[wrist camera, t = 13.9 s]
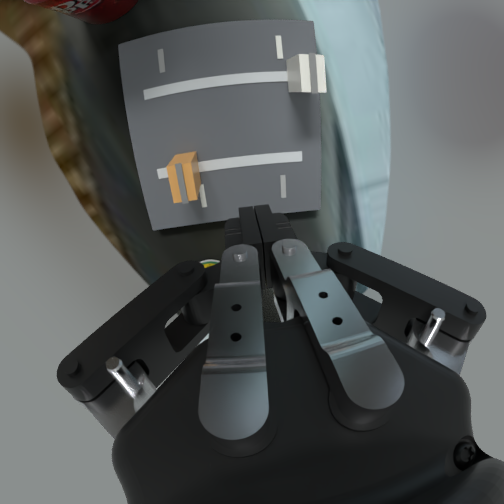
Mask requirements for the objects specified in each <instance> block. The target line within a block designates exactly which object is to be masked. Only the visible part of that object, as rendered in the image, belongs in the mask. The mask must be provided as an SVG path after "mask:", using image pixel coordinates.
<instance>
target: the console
mask: <svg viewBox="0 0 504 504" xmlns="http://www.w3.org/2000/svg"><path fill="white" fill-rule="evenodd" d="M118 50H119V61H120V70H121V79H122V86H123V94H124V101H125V107H126V113H127V119H128V125H129V131H130V136H131V141H132V146H133V151H134V156H135V161H136V165H137V170H138V174H139V179H140V183H141V187H142V191H143V195H144V199H145V203H146V207H147V211H148V214H149V218H150V222H151V225H152V229H153V230H160V229H166V228H173V227H180V226H187V225H194V224H201V223H208V222H216V221H223V220H228V219H229V218H237V217H239V210H238V208H239V207H248V206H253V209H254V206H256V205H265V204H269V206H270V209H271V212H272V213H291V212H301V211H311V210H321V117H320V93H319V92H318V94H317V93H311V92H289V90H288V77H287V65H286V60H288V59H290V58H292V57H294V56H296V55H298V54H308V53H315V54H316V55H317V51H316V40H315V31H314V22H313V21H303V20H242V21H229V22H219V23H211V24H204V25H197V26H191V27H185V28H180V29H175V30H170V31H166V32H161V33H157V34H153V35H149V36H145V37H142V38H138V39H135V40H132V41H128V42H125V43H122V44H119V45H118ZM195 151H196V153H197V160H198V166H199V173H200V179H201V186H200V190H199V194H198V199H197V200H192V201H189V203H186V204H182V202H179V203H174V202H173V197H172V192H171V188H170V183H169V178H168V173H167V168H166V166H167V165H168V164H169V162H170V161H171V160H172V159H173V157H174V156H175V155H177V154H183V153H188V152H195Z"/></svg>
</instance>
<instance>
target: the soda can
mask: <svg viewBox="0 0 504 504" xmlns="http://www.w3.org/2000/svg"><path fill="white" fill-rule="evenodd" d="M24 1H25V2H26V3H30V4H33V5H37V6H40V7H44V8H47V9H51V10H54V11H57V12H60V13H63V14H66V15H68V16H71V17H74V18H77V19H79V20H82V21H84V22H87V23H89V24H104V23H108V22H111V21H114V20H116V19H118V18H120V17H121V16H123V15H124V14H126V13H127V12H128V11H129V10H130V9H131V8H132V7H133V6H134V5H135V4H136V3H137V1H138V0H24Z"/></svg>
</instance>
